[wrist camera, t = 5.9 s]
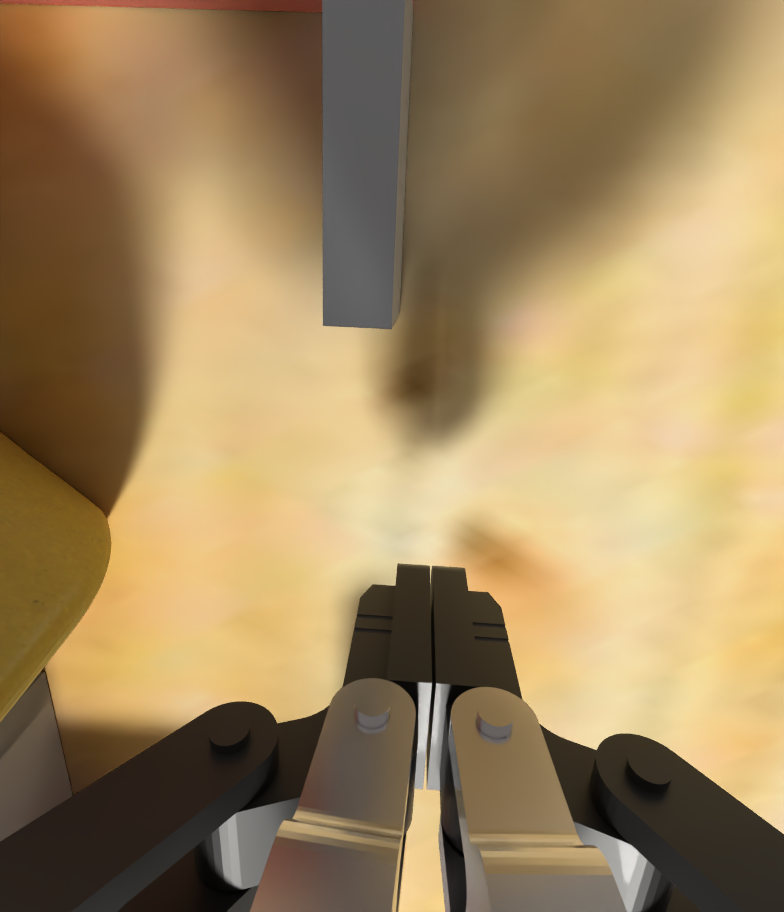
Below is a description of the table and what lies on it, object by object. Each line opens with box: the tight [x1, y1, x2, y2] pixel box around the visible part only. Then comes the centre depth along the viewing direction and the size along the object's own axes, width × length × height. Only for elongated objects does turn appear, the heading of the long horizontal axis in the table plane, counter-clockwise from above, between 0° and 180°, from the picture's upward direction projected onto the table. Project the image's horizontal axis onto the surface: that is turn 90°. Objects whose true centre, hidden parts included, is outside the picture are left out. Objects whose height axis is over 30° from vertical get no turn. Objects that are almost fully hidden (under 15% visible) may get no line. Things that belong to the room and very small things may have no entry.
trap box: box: [0, 0, 414, 841], centre depth 13 cm, size 26×19×4 cm
